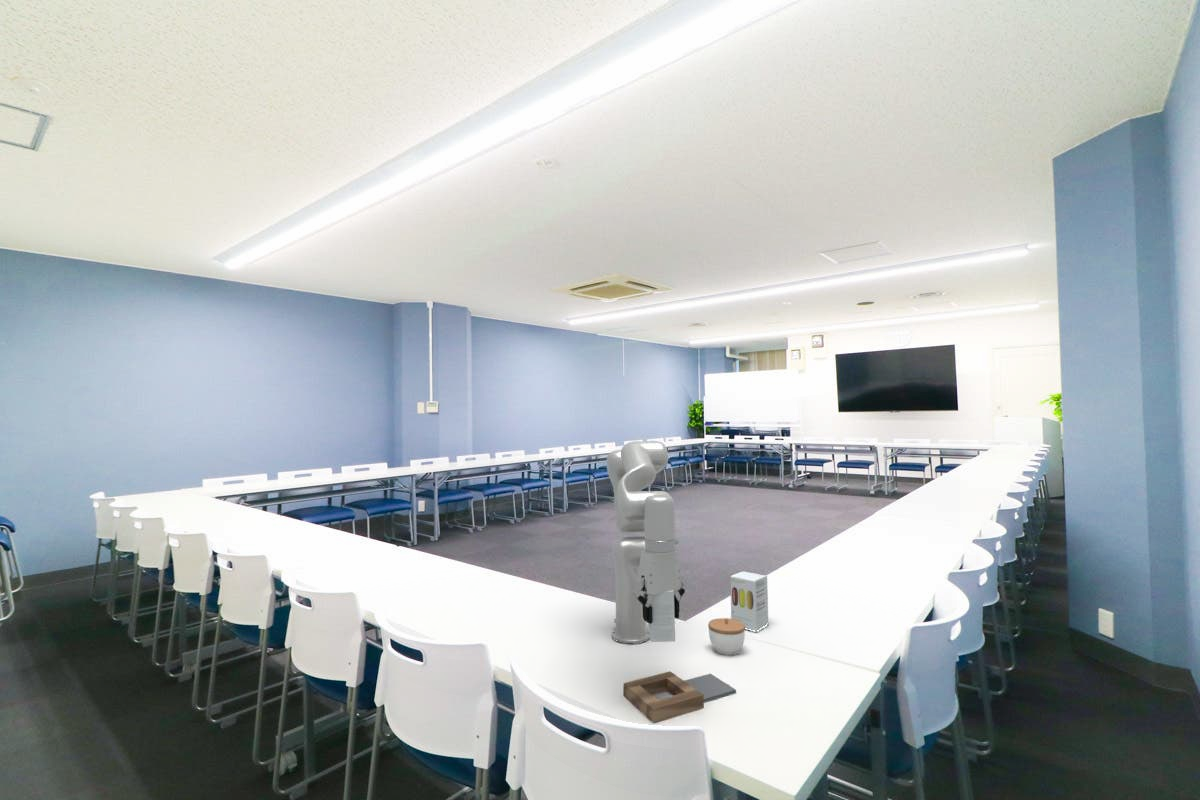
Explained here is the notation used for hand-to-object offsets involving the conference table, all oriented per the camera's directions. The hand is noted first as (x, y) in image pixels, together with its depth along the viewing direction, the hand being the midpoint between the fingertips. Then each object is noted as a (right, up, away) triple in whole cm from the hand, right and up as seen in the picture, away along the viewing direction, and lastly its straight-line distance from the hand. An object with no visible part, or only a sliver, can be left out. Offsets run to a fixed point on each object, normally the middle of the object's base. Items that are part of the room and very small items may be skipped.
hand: (661, 618), depth 126 cm
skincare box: (0, -5, 0) cm, 5 cm away
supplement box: (+36, -23, +47) cm, 63 cm away
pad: (+12, -20, +4) cm, 24 cm away
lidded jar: (+23, -22, +27) cm, 42 cm away
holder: (0, -19, -2) cm, 19 cm away
